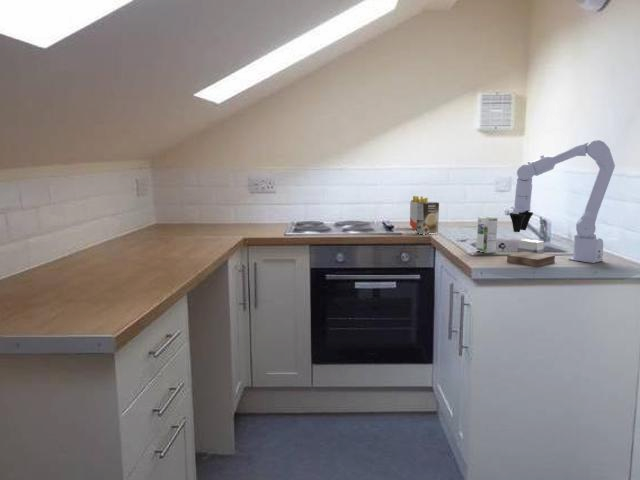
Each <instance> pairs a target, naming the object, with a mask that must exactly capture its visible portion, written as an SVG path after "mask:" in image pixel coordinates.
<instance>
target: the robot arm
mask: <svg viewBox="0 0 640 480" xmlns="http://www.w3.org/2000/svg"><path fill="white" fill-rule="evenodd" d="M587 155H588V156H589V157H590V158H591V159H593V160H594V161H595V163H596V165H597V166H598V172H597V175H596V178H595V180H594V183H593V186H592V188H591V191H590V194H589V197H588V200H587V202H586V205H585V209H584V211H583V213H582V216H581V217H580V218H579V219H578V220H577V222H576V224H575V225H576V226H575V227H576V228H575V229H576V233H574V237H573V254H572V257H568V258H567V259H568V260H571V261H576V262H585V263H592V264H595V263H599V262H602V261H603V260H604V258H603V252H604V240H603V239H602V238H599V237H597V235H596V234H595V232H596V229H597V228H596V221H597V217H598V215H599V212H600V211H599V210H600V208H601V205H602V203H603V200H604V198H605V195H606V192H607V189H608V187H609V184H610V182H611V179H612V175H613V172H614V170H615V167H616V165H615V161H614V159H613V155H612V152H611V149H610V148H609V146H608V144H606V143H605V141H602V140H601V139H600V140H596V139H595V140H592V141H591V142H590V143H589V142H586V143H582V144H578V145H576V146H573V147H571V148H570V149H567V150H565V151H563V152H560V153H557V154H556V155H553V156H550V155H541V156H539V157H540V158H538V159H535V160H533V161H528V162H527V164H522V165H521V166H519V168H518V169H517V171H516V175H517V179H516V186H515V194H514V195H515V196H514V206H511V207H510V209H512V212H510V213H509V217H510V219H511V220H510V221H511V224H512V230H513V233H520V232H521V231H526V230H527V228H528V225H529V222H530V221H531V217H532V216H533V215H534V212H533V211H531V202H532V200H531V199H532V193H533V191H532V190H533V183H532V182H533V177H534V176H535V177H537V176H540V175H543V174H545V173H547V172H550V171H552V170H554V168H555V166H556V165H557V164H560V163H562V162H565V161H568V160H570V159H572V158H576V157H587Z"/></svg>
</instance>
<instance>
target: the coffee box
mask: <svg viewBox="0 0 640 480" xmlns="http://www.w3.org/2000/svg"><path fill="white" fill-rule="evenodd" d="M439 213H440V202H435V201H428V202H419V203H417V230H415V231H416V232H415V233H420V234H429V233H436V232H438V233H439V215H440V214H439ZM420 234H419V235H420Z"/></svg>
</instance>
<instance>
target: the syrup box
mask: <svg viewBox="0 0 640 480" xmlns="http://www.w3.org/2000/svg"><path fill="white" fill-rule="evenodd" d="M497 232H498V217H496V216H494V217H493V216H489V215H485V216H484V215H481V216H478V217H477V233H476V250H478V251H480V252H479V253H482V252H484V253H483V254H492V253H493V254H494V253H496V252H497V234H498V233H497Z"/></svg>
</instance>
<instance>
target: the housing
mask: <svg viewBox="0 0 640 480" xmlns="http://www.w3.org/2000/svg"><path fill="white" fill-rule="evenodd" d="M544 246H545V241H544V240H536V239H528V238H522V239H519V240H517V253H519V252H524V251H526V252H533V253H540V254H544Z"/></svg>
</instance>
